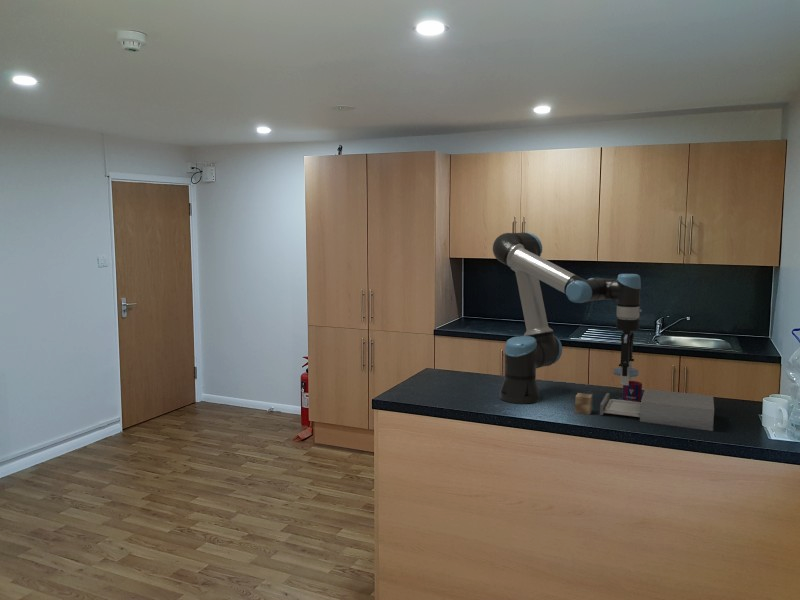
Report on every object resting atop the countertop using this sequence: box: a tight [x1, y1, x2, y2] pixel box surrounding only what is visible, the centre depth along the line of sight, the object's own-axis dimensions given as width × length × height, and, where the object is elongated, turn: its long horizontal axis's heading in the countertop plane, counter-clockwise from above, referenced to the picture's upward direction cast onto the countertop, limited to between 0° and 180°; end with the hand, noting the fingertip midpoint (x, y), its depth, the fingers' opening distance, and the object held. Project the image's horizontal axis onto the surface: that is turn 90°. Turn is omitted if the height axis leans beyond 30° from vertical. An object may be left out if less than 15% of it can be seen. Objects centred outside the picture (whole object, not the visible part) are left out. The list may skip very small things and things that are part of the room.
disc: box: [613, 366, 639, 378], centre depth 213 cm, size 8×8×2 cm
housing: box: [639, 388, 715, 432], centre depth 207 cm, size 22×18×7 cm
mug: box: [622, 380, 643, 402], centre depth 231 cm, size 7×10×7 cm
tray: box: [599, 392, 641, 418], centre depth 214 cm, size 18×16×4 cm
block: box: [574, 392, 593, 416], centre depth 215 cm, size 5×5×6 cm
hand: (625, 381), depth 214 cm, fingers closed on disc, 8 cm apart
